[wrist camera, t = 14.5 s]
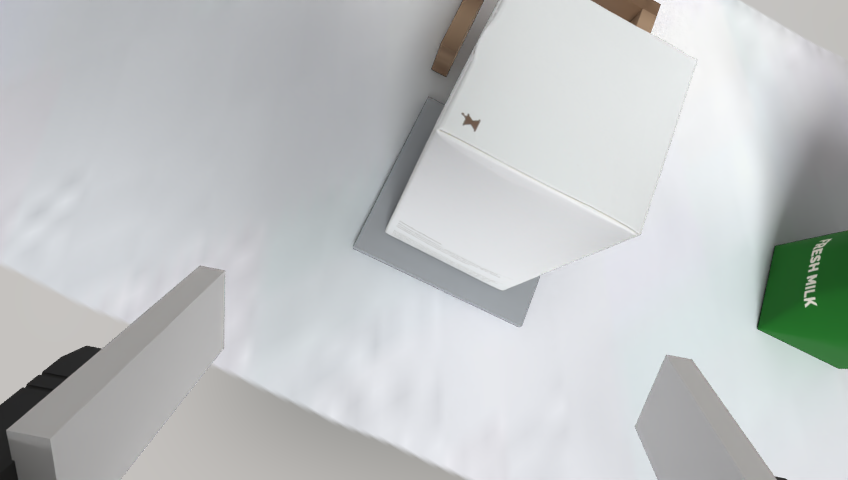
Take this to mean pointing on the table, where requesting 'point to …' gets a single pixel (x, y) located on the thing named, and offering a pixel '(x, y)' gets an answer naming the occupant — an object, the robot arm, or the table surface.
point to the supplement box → (545, 142)
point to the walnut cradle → (628, 3)
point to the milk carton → (810, 297)
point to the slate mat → (421, 264)
